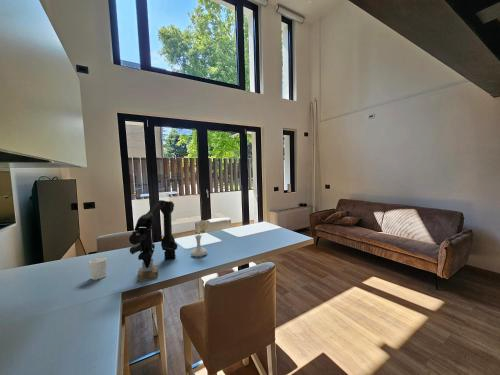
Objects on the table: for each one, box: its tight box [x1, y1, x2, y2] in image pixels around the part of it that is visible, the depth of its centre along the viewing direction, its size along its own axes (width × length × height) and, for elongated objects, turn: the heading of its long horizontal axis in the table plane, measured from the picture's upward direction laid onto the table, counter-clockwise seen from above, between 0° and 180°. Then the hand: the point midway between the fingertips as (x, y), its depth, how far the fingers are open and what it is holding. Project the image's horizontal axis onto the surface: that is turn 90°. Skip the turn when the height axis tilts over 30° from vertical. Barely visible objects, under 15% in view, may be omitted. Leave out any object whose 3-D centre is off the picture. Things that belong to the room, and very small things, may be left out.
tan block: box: [136, 264, 159, 282], centre depth 120 cm, size 10×10×4 cm
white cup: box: [88, 256, 107, 281], centre depth 120 cm, size 8×8×10 cm
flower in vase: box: [190, 219, 209, 258], centre depth 149 cm, size 13×11×25 cm
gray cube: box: [141, 258, 154, 272], centre depth 120 cm, size 5×5×5 cm
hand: (148, 265), depth 120 cm, fingers open, 6 cm apart
